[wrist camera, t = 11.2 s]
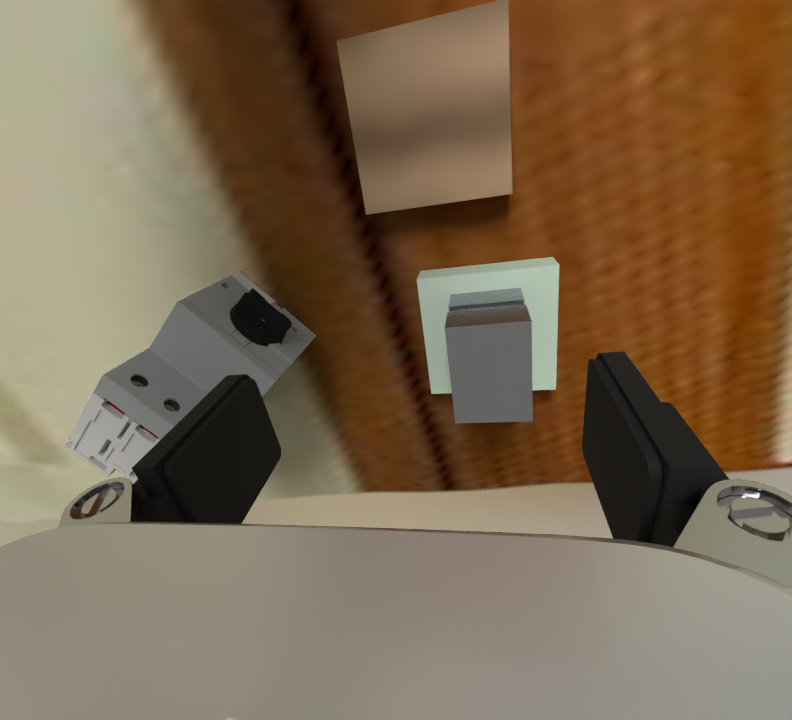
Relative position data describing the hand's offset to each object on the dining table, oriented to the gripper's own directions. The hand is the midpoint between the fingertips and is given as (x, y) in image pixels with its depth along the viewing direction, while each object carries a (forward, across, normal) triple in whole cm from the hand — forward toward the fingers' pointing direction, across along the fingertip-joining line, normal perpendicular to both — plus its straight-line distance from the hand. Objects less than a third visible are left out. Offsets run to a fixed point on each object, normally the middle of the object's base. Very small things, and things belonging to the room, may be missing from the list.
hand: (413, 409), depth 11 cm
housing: (+19, -2, +7) cm, 21 cm away
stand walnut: (+22, 0, -8) cm, 24 cm away
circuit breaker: (+22, +18, +6) cm, 29 cm away
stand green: (+22, -2, +7) cm, 23 cm away
